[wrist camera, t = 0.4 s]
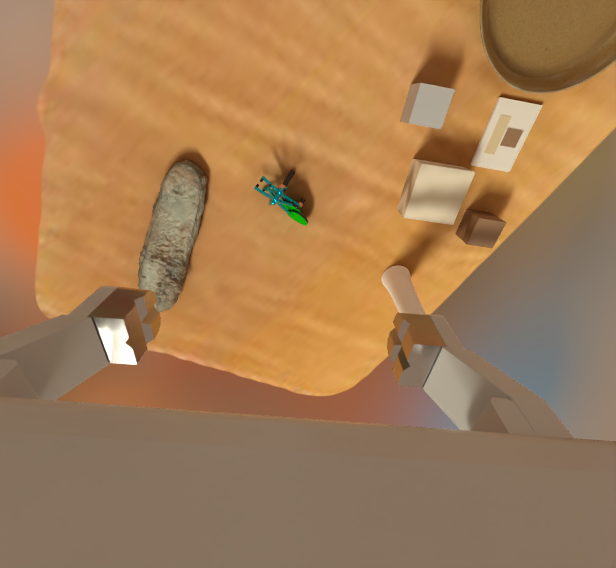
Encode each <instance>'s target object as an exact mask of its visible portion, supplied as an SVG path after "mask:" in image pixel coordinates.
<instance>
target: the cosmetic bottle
mask: <svg viewBox="0 0 616 568" xmlns="http://www.w3.org/2000/svg"><path fill="white" fill-rule="evenodd" d="M382 283H383V285H384V286H385V287H386V289H387V290H388V292H389V293H390V295H391V297H392V298H393V300H394V302H395V304H396V306H397V308H398V311H399V313H409V314H422V315H426V314H425V312H424V310H423V307H422V305H421V303H420V301H419V298H418V296H417V294H416V291H415V289H414V286H413V284H412V280H411V276H410V272H409V270H408V269H407V268H406V267H404V266H400V265H396V266H392V267H390V268H388V269H387V270H386V271H385V272H384V273H383V275H382Z"/></svg>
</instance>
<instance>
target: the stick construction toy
mask: <svg viewBox="0 0 616 568" xmlns="http://www.w3.org/2000/svg"><path fill="white" fill-rule="evenodd" d="M294 174H295V172H294V171H293V170H291V171H290V173H289V175H288V176H287V178H286V179H285V181H284V182H283V184H280V185H279V187H278V189H277V188H276V187H275V186H274V185H273V184H271V183H270V182H269V181H268V180H267V179H266V178H265V177H264V176H263V177H262V178H261V180H260V182H262V181H263V180H264V181H265V182H266V183H267V184H268V187H267V188H265V187H264V188H263V190H261V189H259V188H258V186H259V185H258V184H257V185H256V186H255V188H254V189H255V190H257V191H259V192H260V193H262V194H263V195H265V196H266V197H268V198H270V199H271V201H270V202H269V205H271V204H273V205H275V204H278V205H279V206H280V207H281V208H282V209H283V210H284V211H286V212H287V214H288V215H289V216H290V217H291V218H292V219H294V220H295V221H297V222H299V223H301V224H303V225H307V224H308V220H307V219H306V218H305V217H304V216H303V211H302V210H301V207H302V206H303V202H304V201H305V200H304V199H301V201H300V202H298V203H297V202H296V201H294V200H292V199H291V198H289V197H288V196H286V195H285V194H283V193H285V191H286V190H287V187H286V186H287V185H288V183H289V181H290V180H291V178H292V177H293V175H294ZM270 187H271V188H272V189H270ZM265 190H266V191H269V193H270V195H269V194H267V193H266V192H264V191H265ZM273 193H275V194H276V195H274V194H273ZM279 197H280V199H281V200H279ZM283 197H284V198H285V199H287V200H289V201H290V202H289V201H287V200H284V198H283ZM293 203H294V204H293ZM296 205H297V206H296Z"/></svg>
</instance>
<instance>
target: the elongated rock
mask: <svg viewBox="0 0 616 568" xmlns="http://www.w3.org/2000/svg"><path fill="white" fill-rule="evenodd" d="M207 181H208V179H207V178H206V176H204V173H203V171H202V170H201V169H200V167H198V166H197V165H196V164H195V163H193V162H191V161H189V160H184V161H180V162H176V164H174V165H173V167H172V168H171V169H170V170H169V171H168V173H167V174H166V176H165V178H164V180H163V182H162V184H161V189H160V192H159V196H158V200H157V201H156V203H155V204H154V205H153V215H152V221H151V223H150V226H149V229H148V232H147V234H146V241H145V245H144V246H143V251H142V252H140V254H141V255H140V258H139V261H140V262H139V265H140V268H139V271H138V273H139V274H138V277H139V283H138V287H139V289H143V290H151V291H153V292H154V293H155V295H156V299H157V302H156V303H155V305H154V307H155V308H156V309H157V310H158V311H159V312H162V311H164V310H167V309H168V310H169V309H170V308H171V307H172V306H173V305H174V304H175V303H176V302H177V300H178V295H179V293H180V292H181V291H182V289H183V282H184V278H185V276H186V273H187V266H188V263H189V259H190V254H191V250H192V248H193V245H194V243H195V239H196V237H197V235H198V233H199V228H200V223H201V215H202V213H203V210H204V206H205V202H204V201H205V194H206V190H207V189H206V184H207Z"/></svg>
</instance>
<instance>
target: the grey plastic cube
mask: <svg viewBox="0 0 616 568" xmlns="http://www.w3.org/2000/svg"><path fill="white" fill-rule="evenodd" d="M454 91H455V89H451V88H446V87H441V86H435V85H430V84H425V83H416V84H411V85H410V89H409V92H408V96H407V99H406V103H405V106H404V110H403V113H402V117H401V120H400V121H402V122H406V123H410V124H416V125H421V126H426V127H432V128H437V129H441V127H442V125H443V122H444V119H445V116H446V113H447V111H448V108H449V105H450V102H451V99H452V97H453V94H454Z"/></svg>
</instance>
